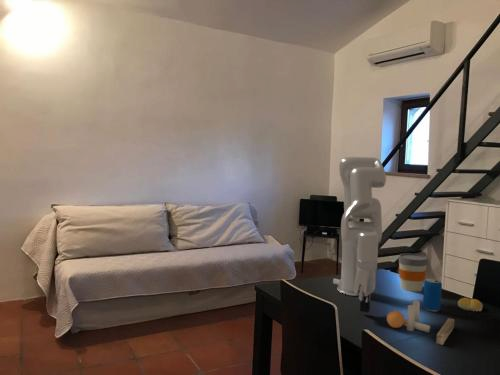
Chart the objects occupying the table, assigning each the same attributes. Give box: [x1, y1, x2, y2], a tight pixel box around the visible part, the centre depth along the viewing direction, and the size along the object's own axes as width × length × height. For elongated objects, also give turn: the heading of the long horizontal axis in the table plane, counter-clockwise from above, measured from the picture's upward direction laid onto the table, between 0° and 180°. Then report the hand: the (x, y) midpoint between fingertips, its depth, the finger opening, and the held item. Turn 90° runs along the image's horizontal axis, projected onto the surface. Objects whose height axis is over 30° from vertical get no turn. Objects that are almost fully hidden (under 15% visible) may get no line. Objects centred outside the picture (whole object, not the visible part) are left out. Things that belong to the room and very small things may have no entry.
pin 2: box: [412, 300, 421, 323], centre depth 158 cm, size 2×2×8 cm
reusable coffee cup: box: [398, 252, 428, 293], centre depth 199 cm, size 13×13×15 cm
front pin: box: [403, 318, 431, 333], centre depth 154 cm, size 2×2×8 cm
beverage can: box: [422, 277, 443, 313], centre depth 173 cm, size 6×6×12 cm
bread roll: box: [457, 297, 484, 312], centre depth 176 cm, size 8×9×4 cm
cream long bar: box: [435, 317, 455, 346], centre depth 149 cm, size 2×18×3 cm, turn 144°
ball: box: [386, 310, 405, 329], centre depth 155 cm, size 6×6×6 cm
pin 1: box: [406, 304, 415, 332], centre depth 153 cm, size 2×2×8 cm
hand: (364, 311), depth 166 cm, fingers closed
